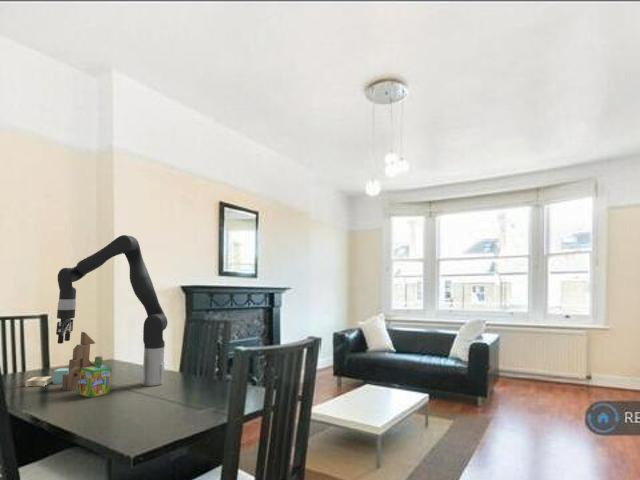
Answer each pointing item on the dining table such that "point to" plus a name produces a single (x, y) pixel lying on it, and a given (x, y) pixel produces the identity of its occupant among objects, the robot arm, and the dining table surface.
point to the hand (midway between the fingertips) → (63, 342)
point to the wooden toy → (78, 363)
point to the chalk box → (95, 380)
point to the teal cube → (59, 375)
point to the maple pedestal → (38, 381)
